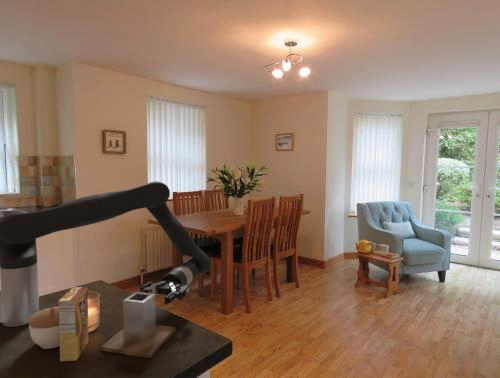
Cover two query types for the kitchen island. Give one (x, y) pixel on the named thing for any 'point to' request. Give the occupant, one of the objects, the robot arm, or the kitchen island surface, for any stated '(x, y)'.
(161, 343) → the hub plate
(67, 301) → the candy box
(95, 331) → the kitchen island surface
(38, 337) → the lidded jar
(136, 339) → the steel sleeve
